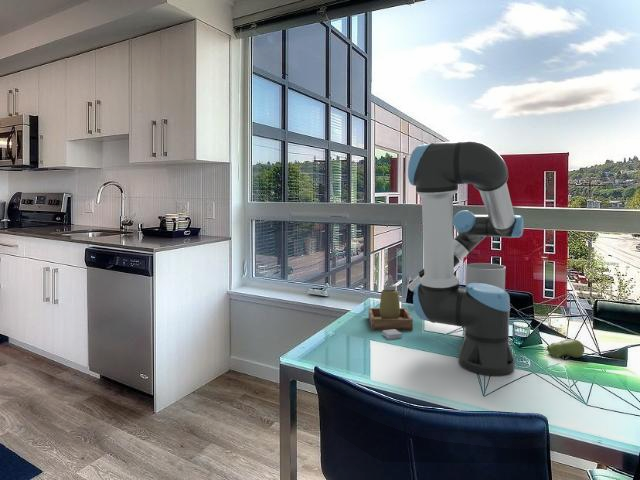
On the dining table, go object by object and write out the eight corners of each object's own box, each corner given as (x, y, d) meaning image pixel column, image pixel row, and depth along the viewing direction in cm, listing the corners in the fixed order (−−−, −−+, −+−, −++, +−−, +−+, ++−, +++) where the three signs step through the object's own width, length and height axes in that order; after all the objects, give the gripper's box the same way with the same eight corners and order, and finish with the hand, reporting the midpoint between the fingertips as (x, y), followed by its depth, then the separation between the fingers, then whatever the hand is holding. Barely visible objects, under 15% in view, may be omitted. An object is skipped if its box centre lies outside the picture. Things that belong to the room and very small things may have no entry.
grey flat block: (401, 338, 141) (401, 333, 141) (388, 340, 140) (388, 334, 139) (395, 334, 146) (395, 328, 146) (382, 335, 144) (382, 330, 144)
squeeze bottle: (377, 323, 154) (377, 277, 152) (380, 317, 161) (380, 273, 159) (399, 325, 151) (399, 278, 149) (401, 318, 159) (401, 274, 157)
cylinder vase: (462, 339, 139) (463, 267, 136) (467, 328, 150) (469, 262, 147) (501, 345, 133) (504, 270, 130) (504, 333, 144) (506, 264, 141)
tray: (412, 330, 149) (412, 319, 148) (371, 330, 149) (371, 319, 149) (405, 317, 164) (405, 308, 163) (368, 317, 164) (368, 308, 164)
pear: (586, 342, 119) (549, 345, 122) (588, 359, 120) (551, 362, 122) (578, 336, 125) (543, 339, 127) (580, 352, 125) (545, 355, 127)
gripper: (471, 266, 141) (428, 309, 142) (449, 256, 165) (413, 292, 167) (456, 252, 140) (413, 294, 142) (437, 243, 165) (400, 279, 167)
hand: (413, 293), depth 155 cm, fingers open, 13 cm apart
